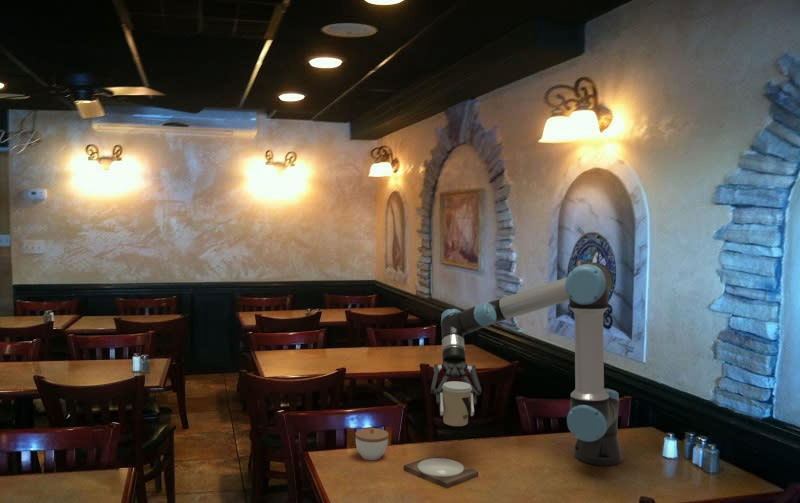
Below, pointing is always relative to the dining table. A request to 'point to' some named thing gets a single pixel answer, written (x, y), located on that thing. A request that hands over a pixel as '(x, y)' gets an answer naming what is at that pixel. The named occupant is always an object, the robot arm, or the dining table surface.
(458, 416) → the coffee cup
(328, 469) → the dining table surface
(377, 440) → the lidded jar
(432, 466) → the serving board
